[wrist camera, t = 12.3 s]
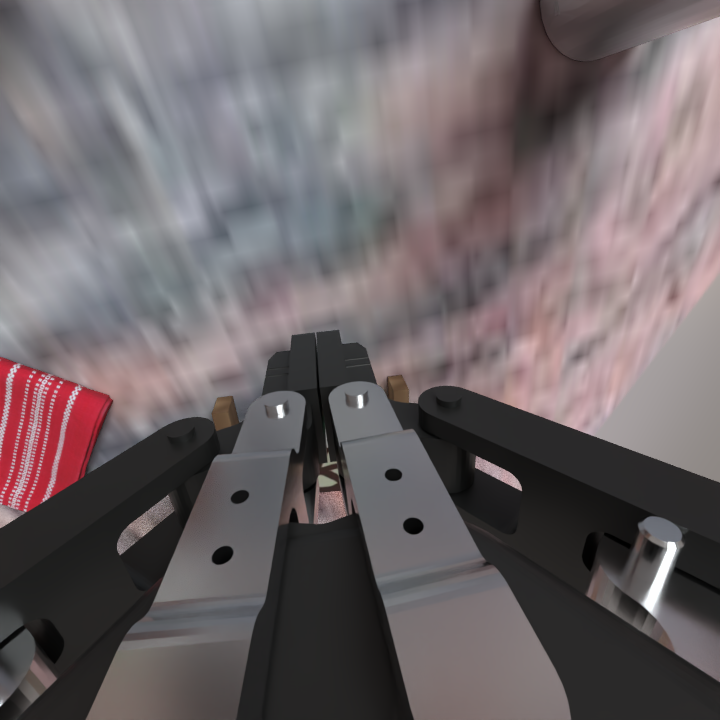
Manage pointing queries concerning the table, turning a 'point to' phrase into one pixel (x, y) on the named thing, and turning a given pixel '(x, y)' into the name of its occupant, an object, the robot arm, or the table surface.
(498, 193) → the table surface
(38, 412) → the dish towel
